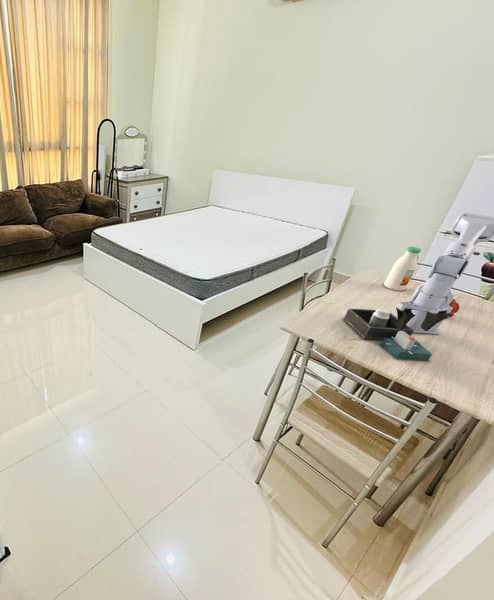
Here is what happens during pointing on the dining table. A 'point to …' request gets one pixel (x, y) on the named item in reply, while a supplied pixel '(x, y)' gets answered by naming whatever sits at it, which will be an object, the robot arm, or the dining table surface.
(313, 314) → the dining table surface
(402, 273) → the milk bottle
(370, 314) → the dark open box
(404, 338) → the white rectangular block
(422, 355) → the teal flat box
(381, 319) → the pill bottle
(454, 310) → the dragon fruit
